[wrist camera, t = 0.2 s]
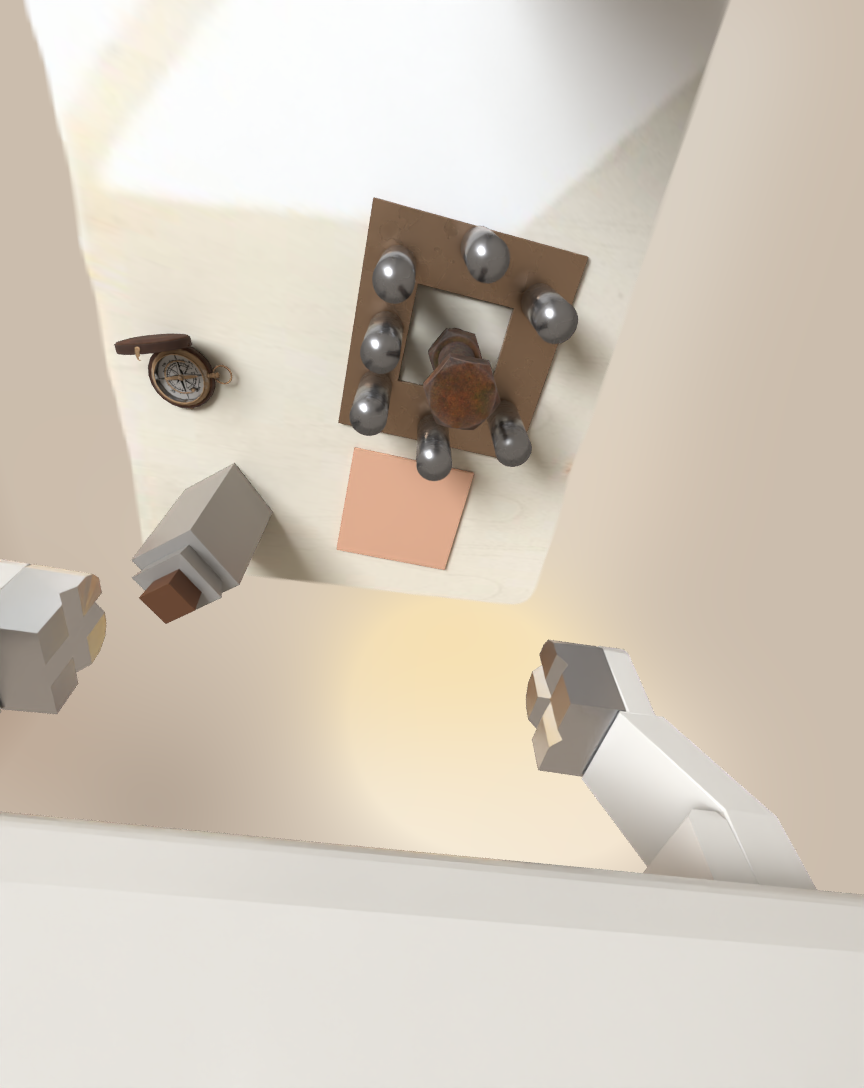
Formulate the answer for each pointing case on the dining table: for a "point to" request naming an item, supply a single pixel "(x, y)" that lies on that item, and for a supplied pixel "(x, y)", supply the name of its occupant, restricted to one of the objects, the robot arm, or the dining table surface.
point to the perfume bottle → (201, 544)
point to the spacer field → (471, 270)
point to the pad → (401, 510)
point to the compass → (175, 368)
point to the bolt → (460, 382)
